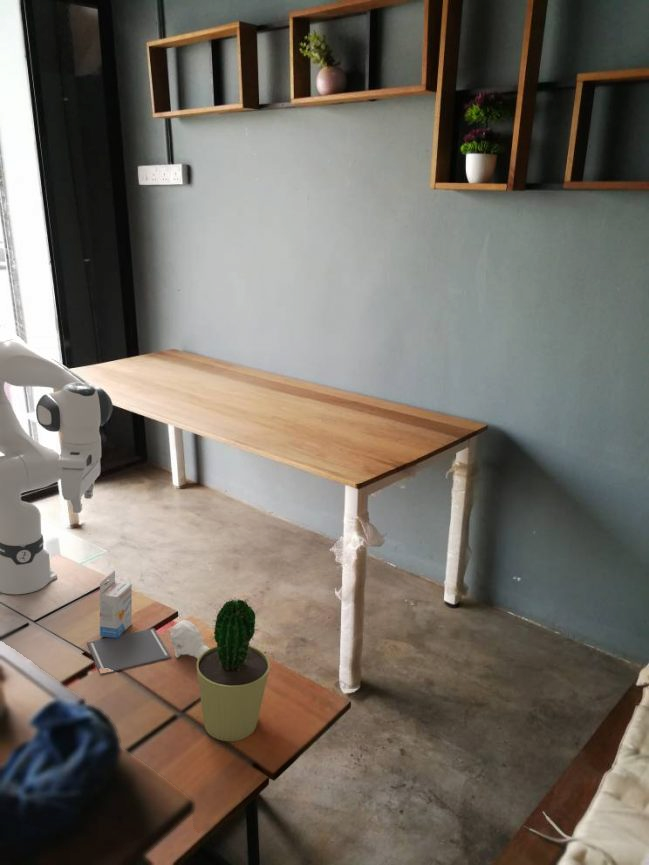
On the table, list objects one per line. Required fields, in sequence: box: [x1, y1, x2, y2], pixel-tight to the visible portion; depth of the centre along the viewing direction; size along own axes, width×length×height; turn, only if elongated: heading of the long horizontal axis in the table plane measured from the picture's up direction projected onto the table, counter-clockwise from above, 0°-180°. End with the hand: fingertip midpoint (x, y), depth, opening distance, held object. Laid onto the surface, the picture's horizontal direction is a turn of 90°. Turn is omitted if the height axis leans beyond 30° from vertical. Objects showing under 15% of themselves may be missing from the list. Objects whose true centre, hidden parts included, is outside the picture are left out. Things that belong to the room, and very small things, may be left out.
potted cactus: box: [196, 597, 271, 742], centre depth 145 cm, size 15×15×30 cm
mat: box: [86, 627, 172, 673], centre depth 172 cm, size 14×17×1 cm
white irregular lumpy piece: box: [169, 619, 211, 664], centre depth 170 cm, size 6×8×12 cm
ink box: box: [99, 570, 133, 639], centre depth 178 cm, size 8×5×15 cm, turn 170°
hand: (83, 504), depth 170 cm, fingers open, 8 cm apart
